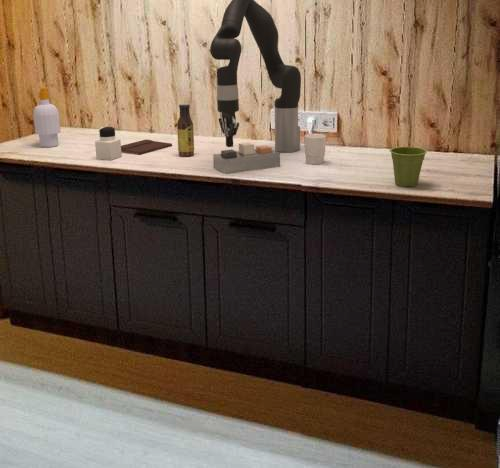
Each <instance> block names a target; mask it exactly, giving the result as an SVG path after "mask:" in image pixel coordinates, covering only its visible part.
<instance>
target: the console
mask: <svg viewBox="0 0 500 468" xmlns="http://www.w3.org/2000/svg"><path fill="white" fill-rule="evenodd" d="M236 152H237V157H229V158H224V157H222V156H221V153H214V154H212V155H213V156H212V157H213V169H215V170H217V171H219V172H221V173H222V174H224V173H226V174H233V172H234V173H238V172H239V173H240V172H248V170H249V171H254V170H255V169H256V170H262V169H270V168H277V167H281V152H278V151H275V149H272V152H270V153H258V152H256V148H254V154H251V155H242V154H240V153H239V150H238V151H237V150H236ZM256 170H255V171H256Z"/></svg>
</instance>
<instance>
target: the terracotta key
mask: <svg viewBox="0 0 500 468" xmlns="http://www.w3.org/2000/svg"><path fill="white" fill-rule="evenodd" d="M272 148H273V147H272V146H269V145H259V146H256V147H255V149H256V152H258V153H270V152H272V150H273V149H272Z"/></svg>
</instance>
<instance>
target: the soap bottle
mask: <svg viewBox="0 0 500 468" xmlns="http://www.w3.org/2000/svg"><path fill="white" fill-rule="evenodd" d="M47 89H50V87H49V86H48V87H47V86H46V87H40V90H39V92H38V95H39V104H37V105H36V106H35V107H34V108H33V113H32V117H33V125H34V131H35V132H34V133H35V135H38V139H39V146H40V147H41V148H54V147H57V146H59V144H60V143H59V135H58V134H59V133H61V121H60V113H59V110H58V108H57V106H55V105H54V104H52V103H50V97H49V95H50V94H49V91H47Z"/></svg>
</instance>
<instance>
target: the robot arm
mask: <svg viewBox="0 0 500 468" xmlns="http://www.w3.org/2000/svg"><path fill="white" fill-rule="evenodd" d="M244 18H245V20H246V23H247V25H248V27H249V30H250V32H251V35H252V37H253V38H254V41H255V44H256V45H257V47H258V49H259V52H260V55H261V57H262V59H263V61H264V65H265V68H266V71H267V74H268V77H269V79H270V82H271V85H273V86H274V87H275V88H276V89H280V90H281V92H280V93H281V94H280V95H279V97H278V98H276V99H275V100H274V151H277V152H279V153H294V152H297V151H300V150H301V126H300V125H299V102H300V99H301V88H302V77H301V76H302V75H301V71H300V69H299V68H298V67H297V66H295V65H289V64H285V63H284V61H283V58H282V57H281V55H280V52H279V31H278V28H277V25H276V24H275V21H274V17H273V16H272V15H271V13H270V12H268V10H267V9H266V8H264V7H263V6H261V5H260V4H259V3H258V2H257V1H255V0H231V1H230V2H229V3H228V5H227V7H226V8H225V11H224V12H223V17H222V20H221V24H220V27H219V29H218V31H216V34H215V36H214V37H213V40H211V44H210V45H209V46H210V48H209V49H210V50H209V52H210V55H211V57H212V58H213V59H214V60H216V61H217V60H219V61H225V60H226V61H229V63H228V65H226V66H225V65H224V66H220V67H219V68H217V70H216V85H217V86H216V102H217V103H216V104H217V105H216V107H217V112H219V113H221V114H220V116H221V117H220V118H218V123H219V127H220V128H221V132H222V134H224V137H225V147H227V148H233V147H234V136H237V132H238V130H239V127H240V122H237V117H236V113H237V112H238V111H239V110H240V106H239V105H240V104H239V99H240V97H239V88H238V86H239V85H238V68H239V63H240V58H241V54H242V45H241V43H240V40H239V39H238V37H239V36H240V34H241V31H242V27H243V22H244Z"/></svg>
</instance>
